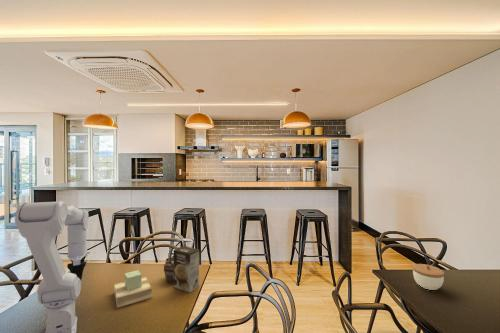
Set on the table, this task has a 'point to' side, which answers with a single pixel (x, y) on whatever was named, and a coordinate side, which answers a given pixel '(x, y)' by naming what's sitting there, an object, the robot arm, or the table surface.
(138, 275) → the sage cube
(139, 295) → the birch block
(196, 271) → the coffee box
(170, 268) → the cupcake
